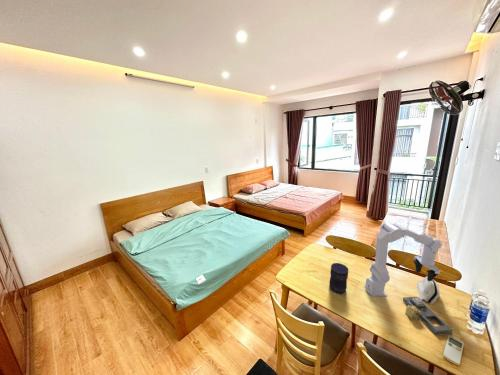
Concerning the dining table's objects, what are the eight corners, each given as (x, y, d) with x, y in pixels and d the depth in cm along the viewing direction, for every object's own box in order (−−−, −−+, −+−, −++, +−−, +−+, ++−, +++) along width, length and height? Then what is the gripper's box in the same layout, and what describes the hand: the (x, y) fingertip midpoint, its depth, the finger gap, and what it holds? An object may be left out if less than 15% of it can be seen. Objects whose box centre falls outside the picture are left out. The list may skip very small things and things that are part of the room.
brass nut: (411, 320, 102) (413, 311, 100) (405, 313, 105) (407, 305, 104) (419, 319, 102) (421, 311, 100) (412, 313, 106) (414, 304, 104)
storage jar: (347, 295, 118) (350, 274, 114) (330, 293, 120) (332, 272, 116) (344, 283, 127) (346, 263, 123) (328, 281, 129) (329, 262, 126)
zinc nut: (416, 311, 107) (418, 302, 105) (410, 305, 110) (412, 296, 109) (423, 310, 107) (425, 302, 105) (417, 304, 111) (419, 296, 109)
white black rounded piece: (416, 282, 127) (426, 272, 122) (424, 287, 125) (435, 276, 120) (420, 300, 113) (432, 289, 109) (430, 306, 111) (442, 295, 107)
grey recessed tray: (435, 334, 94) (436, 330, 93) (402, 300, 113) (403, 297, 113) (451, 333, 94) (452, 329, 94) (416, 300, 113) (417, 296, 113)
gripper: (447, 263, 108) (442, 284, 111) (423, 249, 122) (419, 267, 125) (435, 264, 107) (429, 285, 111) (412, 249, 121) (408, 268, 125)
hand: (423, 276), depth 118 cm, fingers open, 7 cm apart
